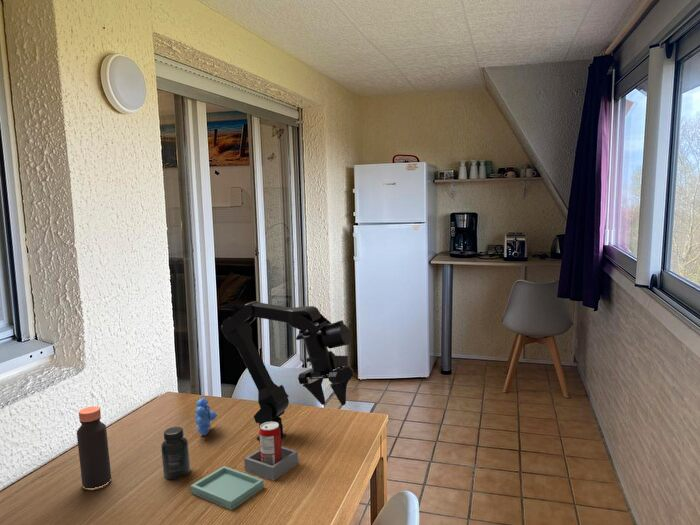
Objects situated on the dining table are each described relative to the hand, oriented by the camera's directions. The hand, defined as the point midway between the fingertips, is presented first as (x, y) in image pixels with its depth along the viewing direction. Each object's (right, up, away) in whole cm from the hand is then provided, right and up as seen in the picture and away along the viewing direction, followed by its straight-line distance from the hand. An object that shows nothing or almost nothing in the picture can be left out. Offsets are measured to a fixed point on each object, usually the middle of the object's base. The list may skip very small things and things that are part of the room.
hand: (333, 404), depth 148 cm
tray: (-26, -17, -17) cm, 35 cm away
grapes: (-39, -13, +15) cm, 44 cm away
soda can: (-16, -15, -7) cm, 23 cm away
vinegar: (-61, -18, -12) cm, 64 cm away
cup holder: (-16, -15, -7) cm, 23 cm away
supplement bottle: (-41, -16, -8) cm, 45 cm away
